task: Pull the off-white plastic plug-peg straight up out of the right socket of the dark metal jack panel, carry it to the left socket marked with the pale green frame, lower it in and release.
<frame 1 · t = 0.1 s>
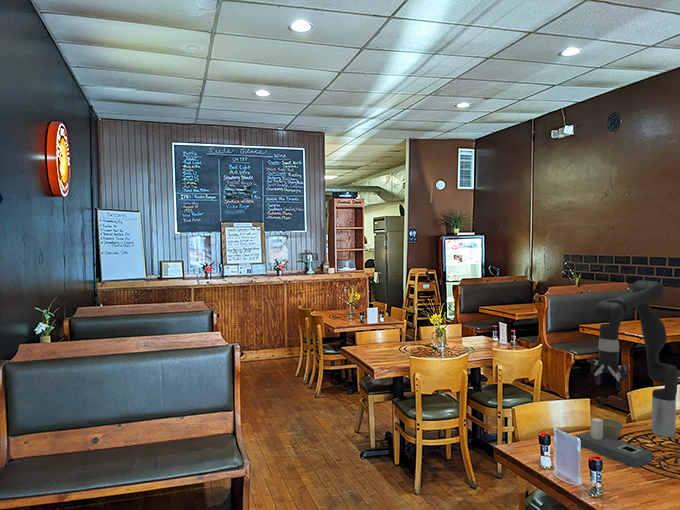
hand: (608, 387, 203), 29 cm above the table, fingers open, 8 cm apart
jack panel: (612, 452, 205), on the table
plug peg: (596, 446, 211), resting in jack panel
flower pot: (609, 437, 221), on the table
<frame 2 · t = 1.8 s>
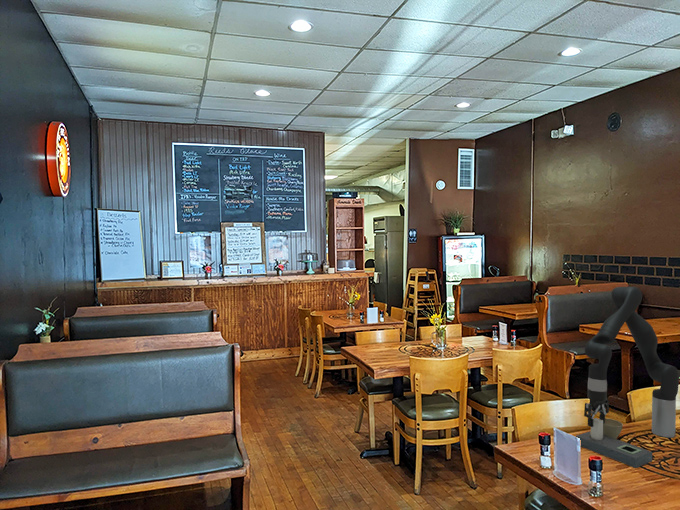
hand: (596, 424, 211), 10 cm above the table, fingers open, 8 cm apart
nothing on the table moved.
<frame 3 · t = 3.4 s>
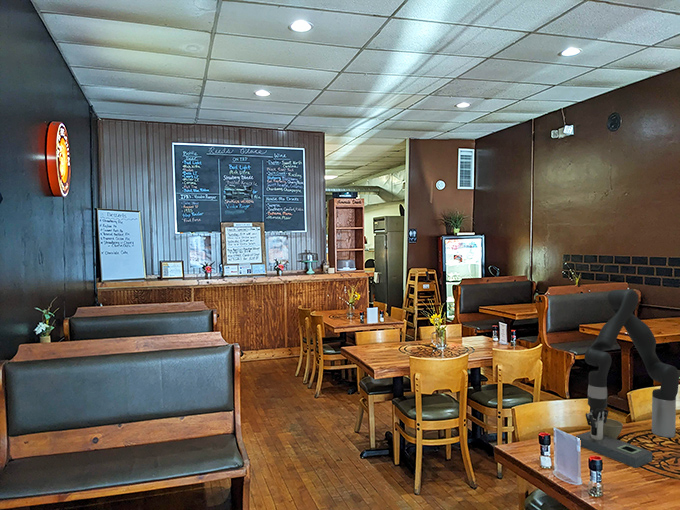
hand: (596, 433, 211), 6 cm above the table, fingers closed on plug peg, 3 cm apart
plug peg: (596, 446, 211), resting in jack panel, touching gripper
everything else where it was.
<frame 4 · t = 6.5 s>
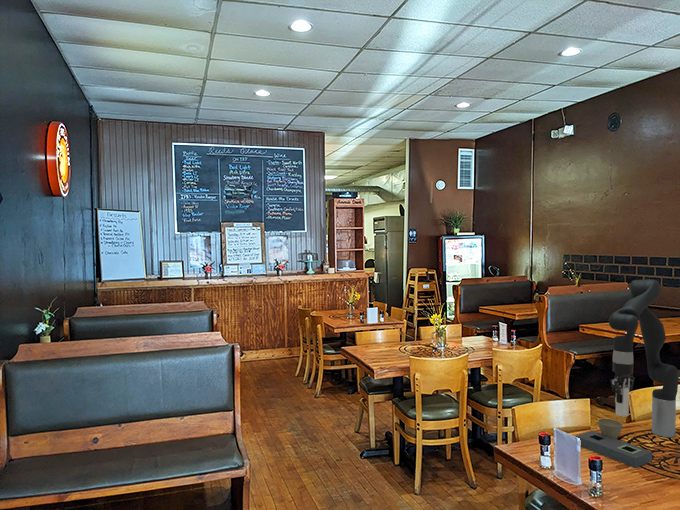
hand: (622, 401, 201), 23 cm above the table, fingers closed on plug peg, 3 cm apart
plug peg: (622, 415, 201), point 18 cm above the table, touching gripper
everything else where it was.
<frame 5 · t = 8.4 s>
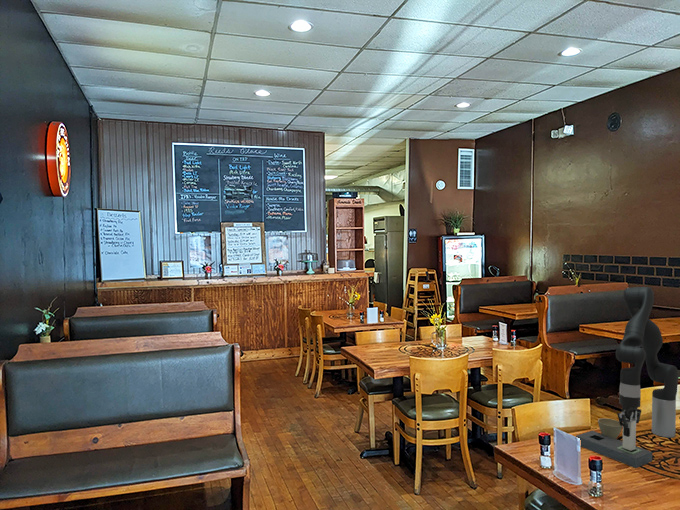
hand: (629, 434, 199), 10 cm above the table, fingers closed on plug peg, 3 cm apart
plug peg: (629, 448, 199), point 4 cm above the table, touching gripper
everything else where it was.
when the fingers open (7 cm above the table, at t = 9.8 s): plug peg stays where it is, resting in jack panel.
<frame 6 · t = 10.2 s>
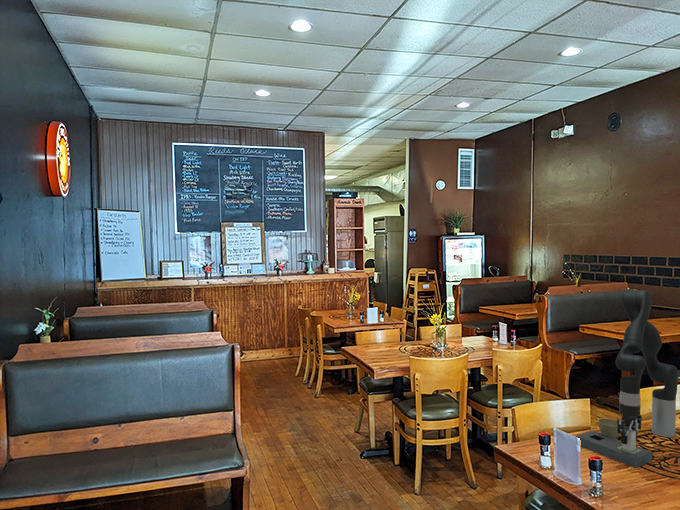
hand: (629, 441, 199), 7 cm above the table, fingers open, 6 cm apart
plug peg: (629, 459, 199), resting in jack panel
everything else where it was.
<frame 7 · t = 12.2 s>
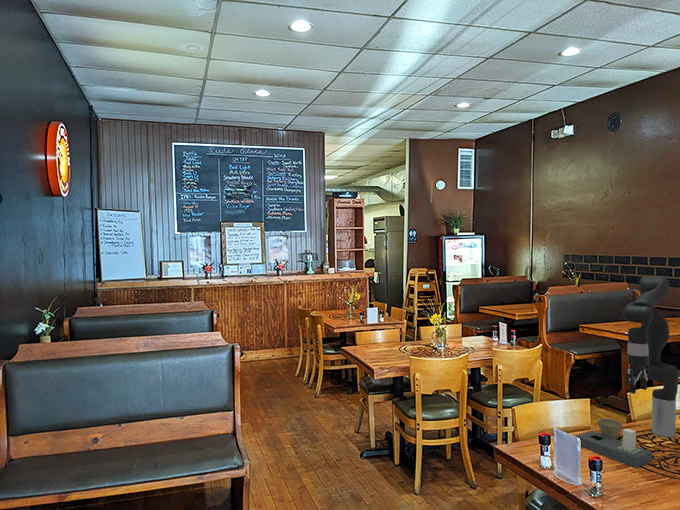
hand: (638, 391, 201), 28 cm above the table, fingers open, 8 cm apart
nothing on the table moved.
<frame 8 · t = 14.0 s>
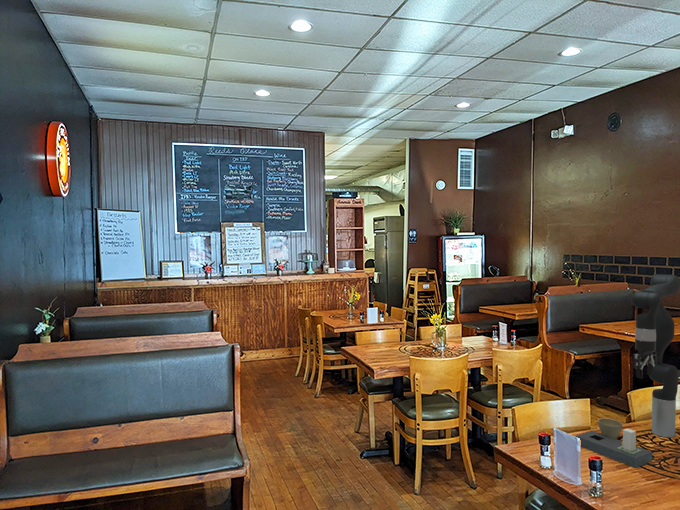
hand: (644, 376, 204), 33 cm above the table, fingers open, 8 cm apart
nothing on the table moved.
at the end: plug peg 0.1 cm from the target spot on the jack panel, point 0.0 cm above the jack panel's base; plug peg tilted 0°; the gripper is holding nothing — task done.
